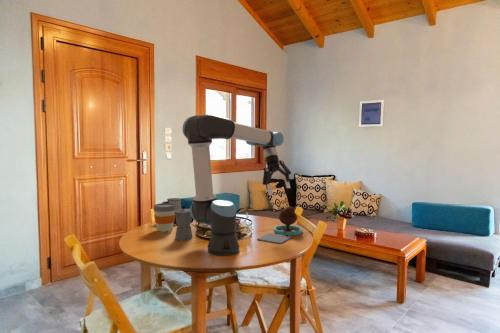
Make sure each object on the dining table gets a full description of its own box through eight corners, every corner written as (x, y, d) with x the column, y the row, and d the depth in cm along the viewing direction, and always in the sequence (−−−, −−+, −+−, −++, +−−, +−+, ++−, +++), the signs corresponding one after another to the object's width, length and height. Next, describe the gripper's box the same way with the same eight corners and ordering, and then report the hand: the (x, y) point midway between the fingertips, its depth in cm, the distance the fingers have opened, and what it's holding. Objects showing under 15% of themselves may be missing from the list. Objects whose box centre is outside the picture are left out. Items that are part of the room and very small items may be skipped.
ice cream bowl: (296, 229, 199) (296, 204, 198) (297, 234, 188) (297, 208, 187) (278, 229, 200) (279, 204, 199) (278, 234, 189) (278, 207, 188)
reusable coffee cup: (150, 232, 190) (149, 206, 189) (158, 227, 203) (158, 202, 202) (171, 233, 189) (171, 207, 188) (178, 228, 201) (178, 203, 200)
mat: (281, 244, 170) (281, 242, 170) (257, 240, 177) (257, 238, 177) (292, 237, 182) (292, 236, 182) (269, 234, 189) (269, 232, 189)
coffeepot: (181, 242, 171) (181, 208, 170) (168, 239, 176) (168, 206, 175) (201, 236, 184) (201, 203, 183) (188, 233, 189) (188, 202, 188)
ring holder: (295, 237, 183) (295, 233, 183) (269, 232, 191) (269, 229, 191) (305, 230, 197) (305, 227, 197) (281, 227, 205) (281, 223, 205)
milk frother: (176, 219, 226) (176, 197, 225) (190, 223, 215) (190, 200, 214) (157, 222, 215) (157, 199, 214) (171, 226, 204) (170, 202, 203)
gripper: (291, 149, 188) (300, 184, 181) (260, 164, 204) (268, 198, 198) (282, 147, 182) (292, 184, 176) (252, 163, 199) (259, 197, 192)
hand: (279, 191), depth 187 cm, fingers open, 13 cm apart
